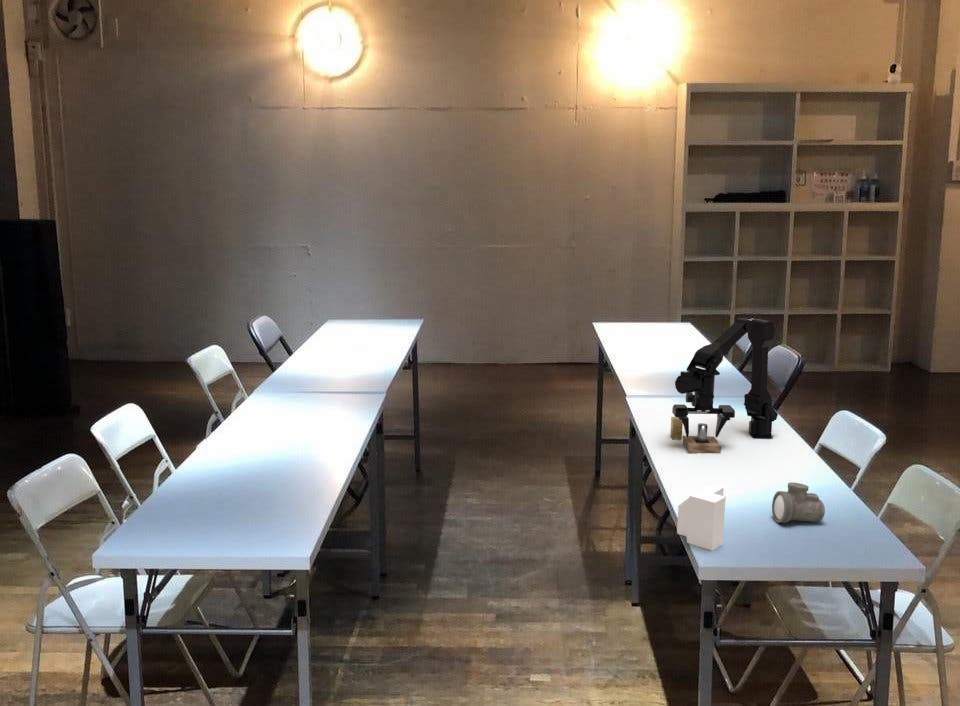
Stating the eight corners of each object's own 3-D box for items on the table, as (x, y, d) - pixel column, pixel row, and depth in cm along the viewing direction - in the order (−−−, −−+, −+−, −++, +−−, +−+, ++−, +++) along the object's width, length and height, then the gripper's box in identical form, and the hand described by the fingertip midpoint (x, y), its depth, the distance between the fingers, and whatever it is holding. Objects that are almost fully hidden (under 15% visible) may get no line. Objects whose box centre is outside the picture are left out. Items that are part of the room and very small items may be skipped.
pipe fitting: (779, 526, 233) (786, 487, 232) (768, 517, 241) (774, 478, 240) (825, 531, 234) (832, 492, 233) (812, 521, 242) (819, 483, 241)
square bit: (679, 437, 309) (681, 416, 308) (681, 439, 306) (682, 419, 304) (670, 436, 309) (671, 416, 308) (672, 439, 306) (673, 419, 304)
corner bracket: (712, 550, 220) (715, 502, 217) (670, 537, 227) (672, 491, 225) (732, 537, 227) (736, 490, 225) (691, 525, 235) (694, 480, 232)
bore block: (713, 444, 301) (713, 436, 301) (720, 453, 292) (721, 445, 291) (682, 443, 302) (682, 436, 301) (688, 453, 292) (689, 445, 291)
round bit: (705, 447, 298) (706, 423, 296) (707, 450, 295) (708, 426, 293) (695, 447, 298) (697, 423, 296) (697, 450, 295) (699, 425, 293)
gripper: (728, 383, 300) (725, 430, 303) (670, 383, 301) (667, 429, 304) (736, 392, 289) (733, 440, 293) (676, 391, 290) (674, 439, 293)
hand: (701, 437), depth 296 cm, fingers open, 9 cm apart
